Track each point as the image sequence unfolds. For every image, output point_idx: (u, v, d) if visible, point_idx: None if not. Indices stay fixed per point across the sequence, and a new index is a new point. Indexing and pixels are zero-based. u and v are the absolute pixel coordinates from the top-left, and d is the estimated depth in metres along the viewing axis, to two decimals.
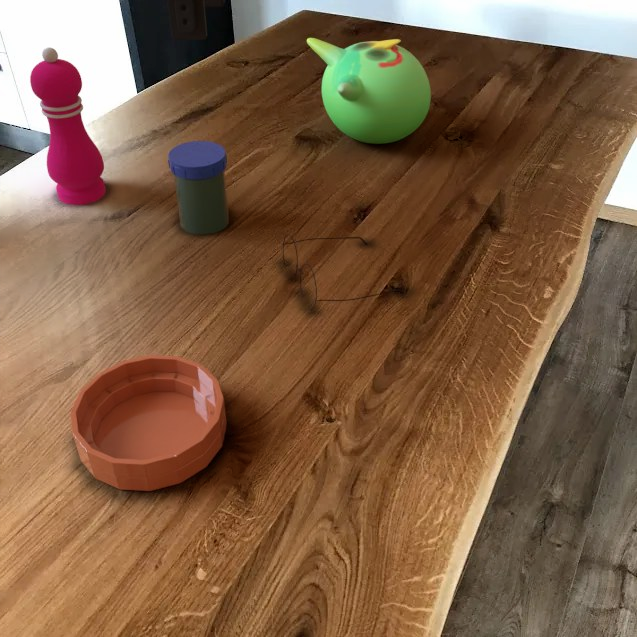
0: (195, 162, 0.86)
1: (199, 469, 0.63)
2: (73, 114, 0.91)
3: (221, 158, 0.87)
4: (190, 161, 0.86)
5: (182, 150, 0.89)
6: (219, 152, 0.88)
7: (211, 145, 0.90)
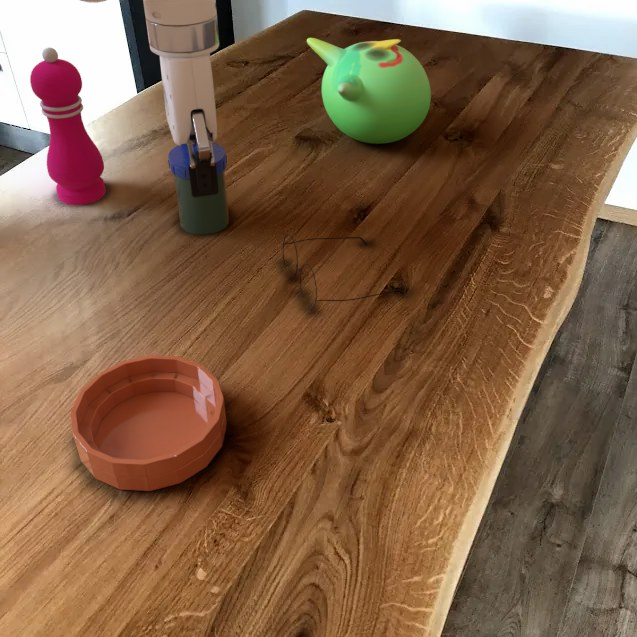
0: None
1: (199, 469, 0.63)
2: (73, 114, 0.91)
3: (221, 158, 0.87)
4: None
5: (182, 150, 0.89)
6: (219, 152, 0.88)
7: None
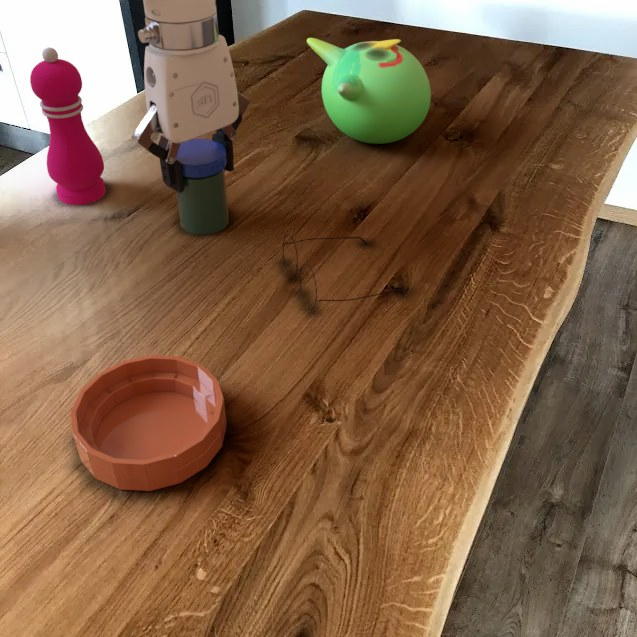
0: (214, 146, 0.89)
1: (199, 469, 0.63)
2: (73, 114, 0.91)
3: (198, 139, 0.90)
4: (214, 149, 0.88)
5: (196, 159, 0.86)
6: (187, 142, 0.90)
7: None
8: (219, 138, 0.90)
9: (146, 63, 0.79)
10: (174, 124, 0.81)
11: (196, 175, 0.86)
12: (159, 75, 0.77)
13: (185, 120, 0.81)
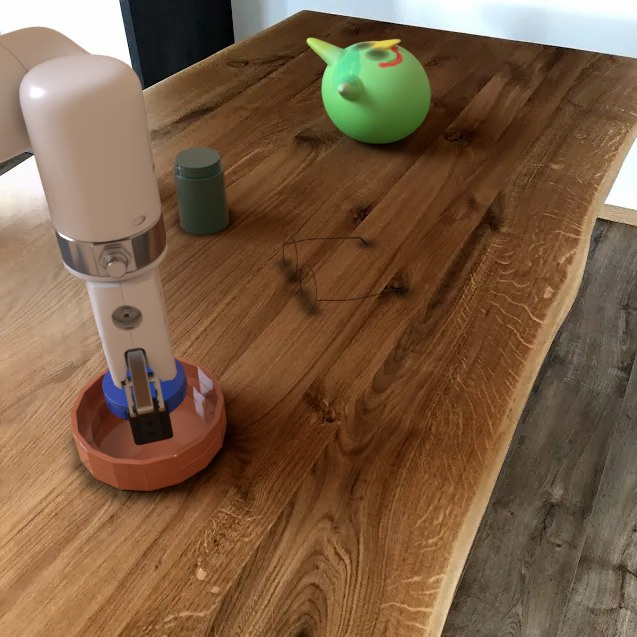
0: None
1: (199, 469, 0.63)
2: None
3: None
4: None
5: (164, 384, 0.61)
6: (111, 380, 0.62)
7: (120, 396, 0.60)
8: None
9: (110, 305, 0.51)
10: None
11: (180, 401, 0.62)
12: (149, 305, 0.52)
13: (171, 343, 0.57)
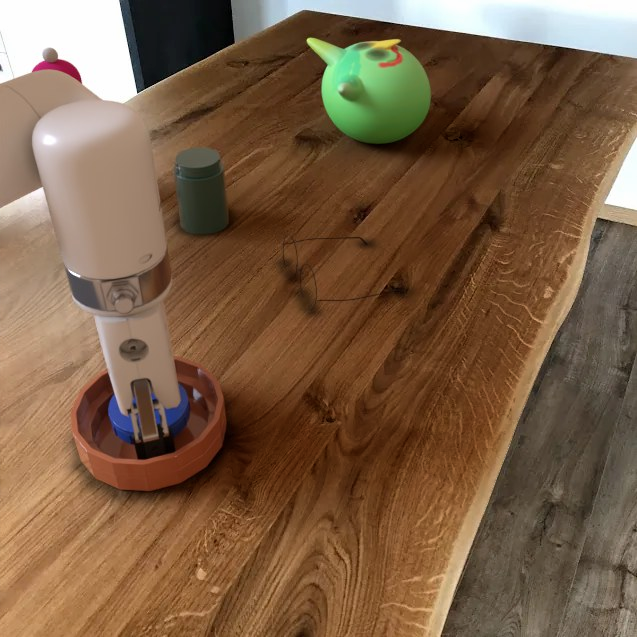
0: None
1: (199, 469, 0.63)
2: None
3: None
4: None
5: (168, 409, 0.63)
6: (117, 405, 0.64)
7: (126, 421, 0.62)
8: None
9: (117, 338, 0.53)
10: None
11: (183, 425, 0.64)
12: (154, 338, 0.54)
13: (175, 371, 0.59)
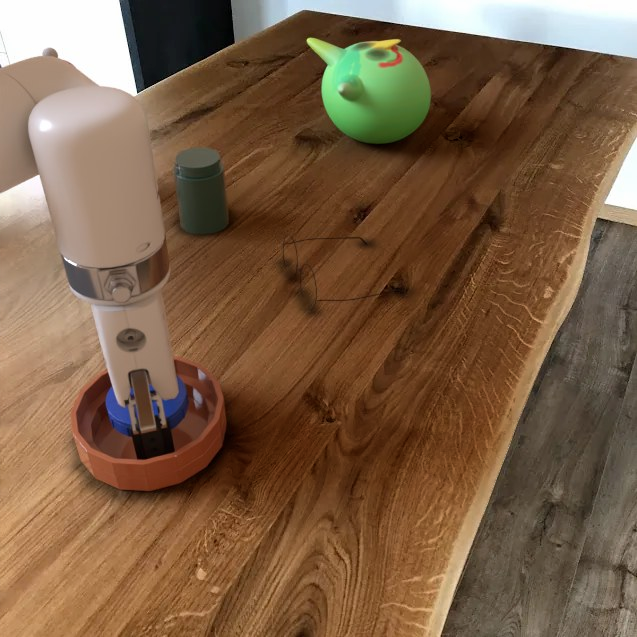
0: None
1: (199, 469, 0.63)
2: None
3: None
4: None
5: (166, 401, 0.63)
6: (114, 397, 0.63)
7: (123, 413, 0.62)
8: None
9: (115, 328, 0.52)
10: None
11: (181, 418, 0.63)
12: (152, 328, 0.53)
13: (173, 362, 0.58)
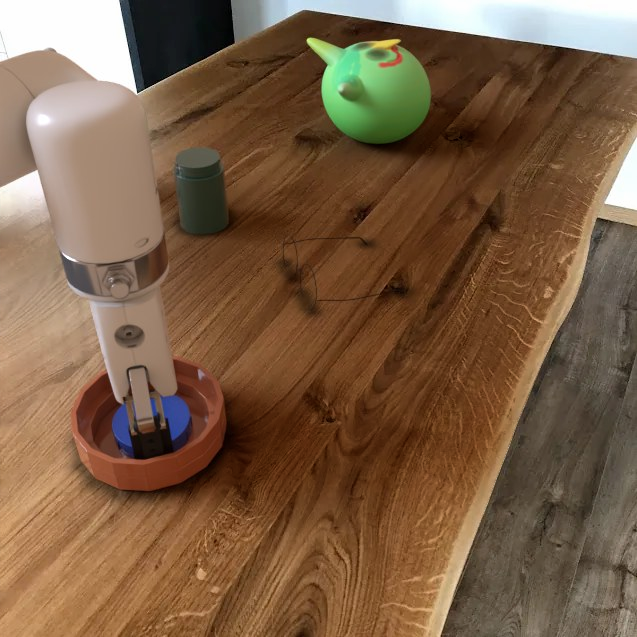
0: (154, 399, 0.67)
1: (199, 469, 0.63)
2: None
3: (119, 408, 0.66)
4: None
5: (170, 425, 0.65)
6: (120, 420, 0.65)
7: (129, 436, 0.63)
8: None
9: (113, 324, 0.52)
10: None
11: (185, 440, 0.65)
12: (151, 324, 0.53)
13: (172, 359, 0.58)
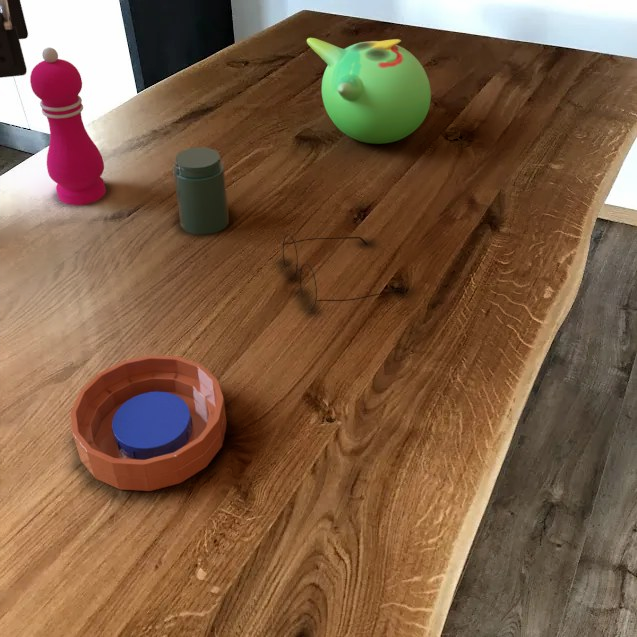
0: (154, 399, 0.67)
1: (199, 469, 0.63)
2: (73, 114, 0.91)
3: (119, 408, 0.66)
4: (160, 401, 0.67)
5: (170, 425, 0.65)
6: (120, 420, 0.65)
7: (129, 436, 0.63)
8: None
9: None
10: None
11: (185, 440, 0.65)
12: None
13: None
